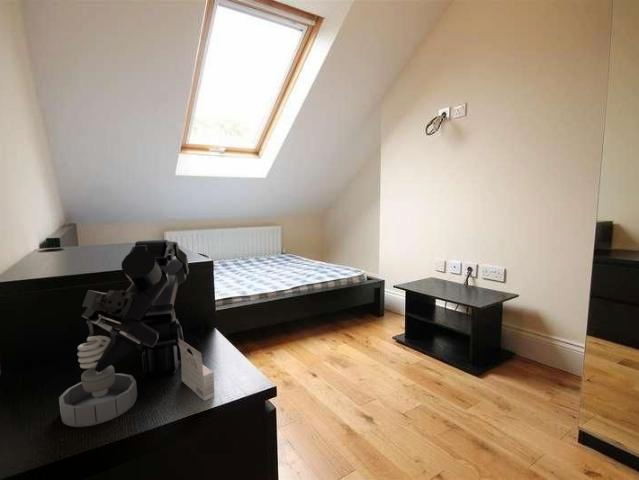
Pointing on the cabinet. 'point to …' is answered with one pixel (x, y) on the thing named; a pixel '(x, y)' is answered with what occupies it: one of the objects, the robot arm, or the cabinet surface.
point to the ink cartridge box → (196, 372)
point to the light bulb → (90, 377)
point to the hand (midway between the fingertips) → (89, 367)
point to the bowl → (97, 402)
